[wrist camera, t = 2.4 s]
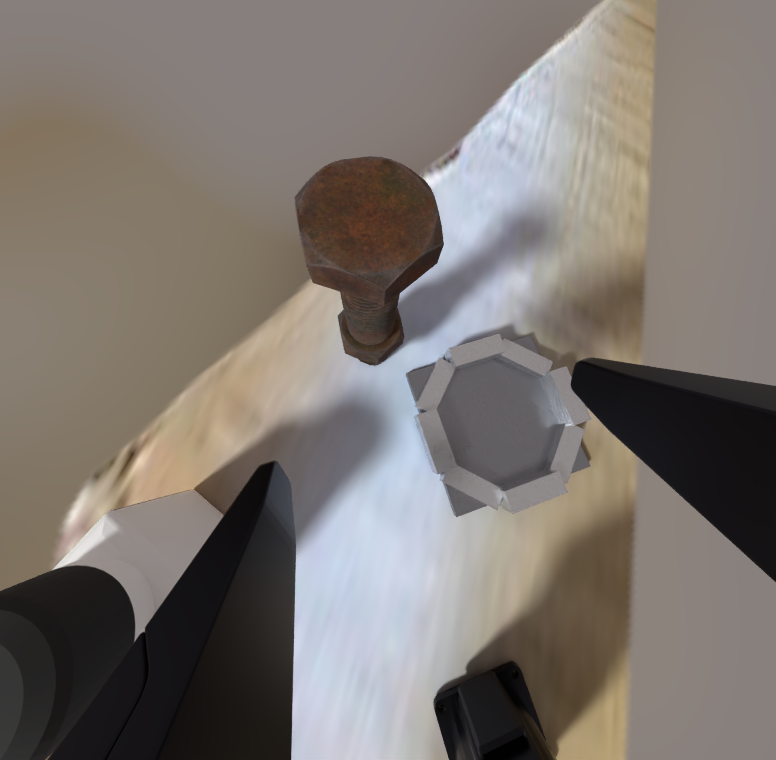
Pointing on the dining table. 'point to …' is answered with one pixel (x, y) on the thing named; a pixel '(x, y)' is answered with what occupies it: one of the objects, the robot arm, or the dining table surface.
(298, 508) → the dining table surface
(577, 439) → the ring collar
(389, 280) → the bolt
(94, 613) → the medicine bottle
